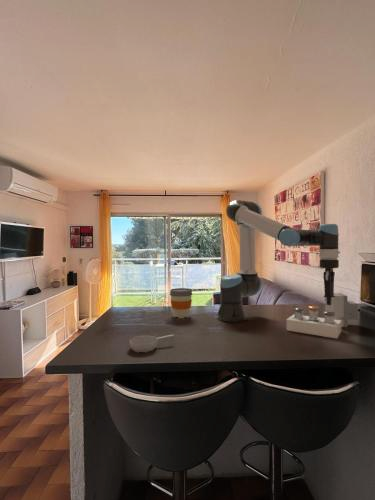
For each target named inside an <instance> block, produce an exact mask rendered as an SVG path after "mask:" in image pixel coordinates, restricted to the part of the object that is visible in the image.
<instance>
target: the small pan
mask: <svg viewBox="0 0 375 500" xmlns="http://www.w3.org/2000/svg"><path fill="white" fill-rule="evenodd" d="M171 337H175V334H174V333H173V334H169V335H168V334H167V335H163V336H159V337H156V336H154V335H138V336H134V337H132V338H131V339H129V346H130V349H132V351H133V352H135V353H139V352H145V353H150V352H152V351H154V350H155V349H156V347H157V345H158V340H163V339H166V338H171ZM149 351H150V352H149Z"/></svg>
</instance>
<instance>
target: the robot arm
mask: <svg viewBox="0 0 375 500" xmlns="http://www.w3.org/2000/svg"><path fill="white" fill-rule="evenodd" d="M262 211H263V210H262V208H261V206H260V205H259V204H258V203H257V202H253V201H247V200H240V199H235V200H234V199H233V200H232V201H230V202H229V203H228V204H227V206H226V210H225V213H226V216H227V218H228V219H229V220H230V221H232V222H235V223H236V226H237V227H238V228H239V270H237V272H236V274H235V273H233V274H232V273H231V274H226V275H223V276H222V277H221V278H220V283H219V289H220V291H219V292H220V293H219V294H220V305H219V309H218V310H217V311H218V312H217V320H219V321H223V322H231V323H234V322H235V323H236V322H237V323H238V322H243V321H245V320H246V318H247V317H246V312H245V309H244V306H243V298H245V297H247V298H248V297H252V296H255V295H257V294H259V292H261V290H262V285H263V284H262V279H261V278H260V276H259V275H258V274H259V273H258V272H257V270H256V231H259V232H260V233H262V234H265V235H267V236H269V237H270V238H273V239H275V240H278V241H279V242H280V244H281V245H283V246H286V247H305V246H306V247H307V246H308V247H311V246H312V247H313V246H314V247H315V246H318V247H319V267H320V268H322V269H324V271H323V276H322V277H323V281H324V282H323V285H324V286H323V287H324V295H323V297H324V298H325V297H326V302H325V311H326V312H333V297H335V295H334V293H335V291H334V290H335V289H334V288H335V271H334V269H338V268H339V266H340V265H339V263H340V262H339V261H340V260H339V255H340V253H341V252H340V251H339V235H340V234H339V226H338V224H335V223H326V224H325V223H324V224H320V225H319V226H318V227H319V228H317V229H296V228H293V227H291V226H288V225H286V224H285V223H281V222H280V221H276V220H274V219H272V218H270V217H267V216H266V215H263V212H262Z"/></svg>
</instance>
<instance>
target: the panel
mask: <svg viewBox="0 0 375 500" xmlns="http://www.w3.org/2000/svg"><path fill="white" fill-rule="evenodd" d="M286 331H289V332H296V333H300V334H301V333H302V334H308V335H313V336H321V337H325V338H331V339H332V338H333V339H338V338H339V336H341V335H340V334H341V333H342V327H341V320H334V324H330V323H325V317H319V316H318V322H315V321H309V315H303V320H301V319H295V313H293V314H292V315H291V316H289V317H288V318H286Z"/></svg>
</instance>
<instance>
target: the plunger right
mask: <svg viewBox="0 0 375 500" xmlns="http://www.w3.org/2000/svg"><path fill="white" fill-rule="evenodd" d="M323 315H324V318H325V323H330V324H334V315H335V312H326V310H324V311H323Z"/></svg>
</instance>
